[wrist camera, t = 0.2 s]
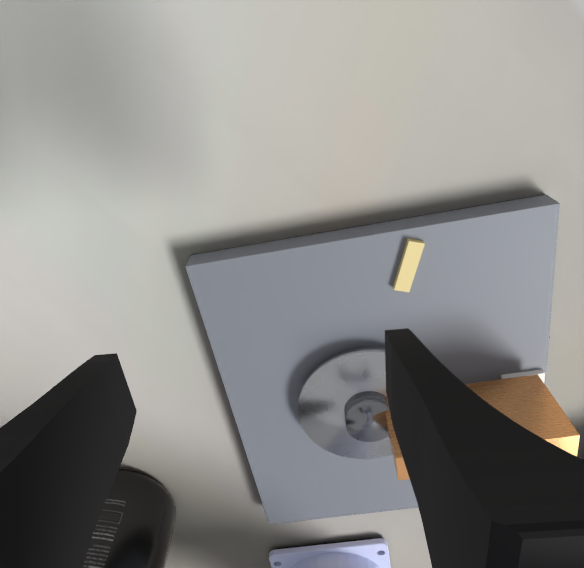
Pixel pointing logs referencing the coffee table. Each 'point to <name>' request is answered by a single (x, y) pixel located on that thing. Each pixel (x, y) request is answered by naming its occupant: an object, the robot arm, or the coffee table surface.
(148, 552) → the supplement bottle
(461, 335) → the board
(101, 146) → the coffee table surface
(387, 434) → the orange block with disc
